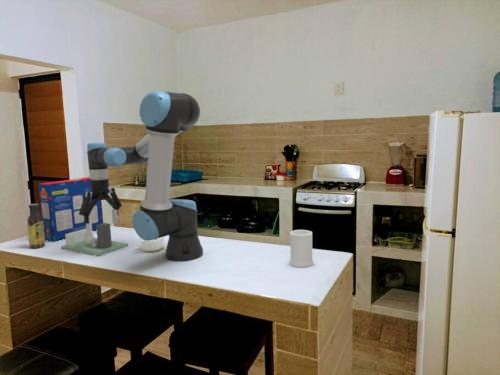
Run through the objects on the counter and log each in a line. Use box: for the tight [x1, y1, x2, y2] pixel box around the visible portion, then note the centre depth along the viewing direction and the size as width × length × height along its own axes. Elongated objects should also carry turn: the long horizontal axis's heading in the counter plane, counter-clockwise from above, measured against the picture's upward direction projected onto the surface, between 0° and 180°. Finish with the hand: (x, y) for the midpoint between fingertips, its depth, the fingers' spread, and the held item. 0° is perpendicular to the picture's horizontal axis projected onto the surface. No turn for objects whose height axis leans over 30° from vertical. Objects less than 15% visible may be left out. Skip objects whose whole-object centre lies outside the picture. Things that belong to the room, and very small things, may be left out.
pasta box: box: [37, 176, 104, 243], centre depth 191 cm, size 28×8×28 cm, turn 148°
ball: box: [86, 235, 96, 245], centre depth 169 cm, size 4×4×4 cm
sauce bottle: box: [27, 203, 46, 249], centre depth 170 cm, size 7×6×20 cm
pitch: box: [60, 229, 129, 257], centre depth 168 cm, size 25×16×6 cm, turn 60°
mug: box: [289, 229, 314, 268], centre depth 140 cm, size 12×8×12 cm
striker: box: [91, 222, 112, 248], centre depth 165 cm, size 7×6×10 cm
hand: (102, 227), depth 164 cm, fingers open, 13 cm apart
